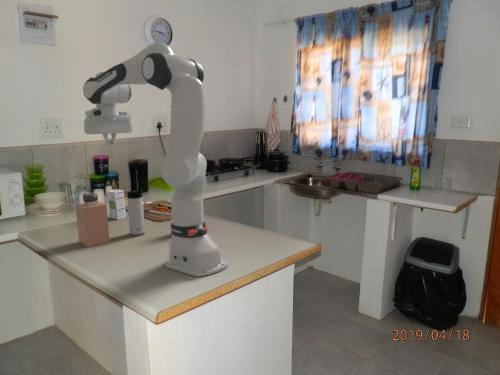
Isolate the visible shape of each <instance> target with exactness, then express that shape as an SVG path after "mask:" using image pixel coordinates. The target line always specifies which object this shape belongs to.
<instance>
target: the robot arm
mask: <svg viewBox="0 0 500 375" xmlns="http://www.w3.org/2000/svg"><path fill="white" fill-rule="evenodd" d="M204 71H205V70H204V68H203V66H202V64H201V63H199V61H196V60H194V59H192V58H185V57H183V56H178V55H176V54H174V52H173V50H172V48H171V46H169V45H168V44H166V43H164V42H162V41H157V42H154V43H152V44H150V45H147V46H146V47H144V48H143V49H141V51H139V52H138V53H137V54H135V55H133V56H132V57H130V58H128V59H126V60H125V61H122V62H121V63H118V64H116V65H113V66H111V67H110V68H109V69H107V70H105V71H101V72H98V73H96V74H95V77H92V76H91V77H89V78H87V80H86V81H85V82H84V84H83V86H82V88H83V90H82V91H83V95H84V97H85V98H86V99H87V101H89V102H90V103H91V104H92V105H95V106H96V107H94V108H91V109H89V110H86V111H85V112H84V115H85V117H84V121H83V130H84V133H85V134H86V135H102V137H103V139H104V140H105V144H106V145H114V144H115V140H116V137H117V134H129V133H132V131H133V126H132V124H133V123H132V116H131V114H130V113H129V112H128V111H119V104H126V103H128V102H129V101H130V99H131V97H132V88H131V86H130V85H140V86H141V85H148V84H149V85H151V86H153V87H155V88H158V89H159V90H161V91H164V90H165V89H167V90H168V91H169V92H170V95H171V100H170V101H171V102H170V127H169V138H168V142H167V147H166V153H165V157H164V162H163V163H162V165H161V172H160V173H161V177H162V179H163V181H164V182H165V183H166V184H167V185H169V187H173V192H172V198H171V200H170V202H171V213H172V222H170V233H171V238H170V241H169V243H168V261H167V262H166V264H165V267H166V268H168V269H171V270H174V271H177V272H180V273H184V274H185V275H186V274H187V275H190V276H194V277H203V276H209V275H212V274H216V273H218V272H220V271H223V270H225V269H226V268H227V267H229V263H228V262H227V261H226V260H224V259H223V258H222V256H221V248H220V247H219V244H218V243H215V241H214V240H213V239H212V237H211V236H210V235H209V234H208V230H209V229H208V228H209V226H207V224H206V221H205V220H204V194H205V193H204V192H205V184H206V171H207V165H208V163H207V159H206V157H205V156H204V155H203V154H202V153H201V152H200V149H201V145H202V140H203V137H204V125H205V93H204V87H203V86H204V85H203V83H204V76H205V72H204ZM109 134H110V136H111V139H109V138H108V136H109Z"/></svg>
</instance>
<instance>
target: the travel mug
mask: <svg viewBox="0 0 500 375" xmlns="http://www.w3.org/2000/svg"><path fill="white" fill-rule="evenodd" d="M143 191H144V190H143V189H133V190H130V191H126V194H127V196H126V197H127V206H128V211H127V212H128V226H129V235H130V236H131V237H140V236H143V235H145V234H146V232H145V230H146V228H145V217H144V213H143V203H144V198H143Z"/></svg>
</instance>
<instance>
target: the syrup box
mask: <svg viewBox="0 0 500 375" xmlns="http://www.w3.org/2000/svg"><path fill="white" fill-rule="evenodd" d="M107 195H108V205H109V206H108V208H109V218H110V219H112V220H118V221H119V220H123V219H125V218H127V214H126V213H127V211H126V210H125V207H126V202H125V200H126V199H125V191H124V190H123V189H118V188H115V189H109V190H108V191H107Z"/></svg>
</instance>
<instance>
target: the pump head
mask: <svg viewBox="0 0 500 375" xmlns="http://www.w3.org/2000/svg"><path fill="white" fill-rule="evenodd" d="M95 200H98V201H99V196H98V193H87V192H85V193H82V201H83V202H84V201H89V202H91V201H95Z"/></svg>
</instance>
